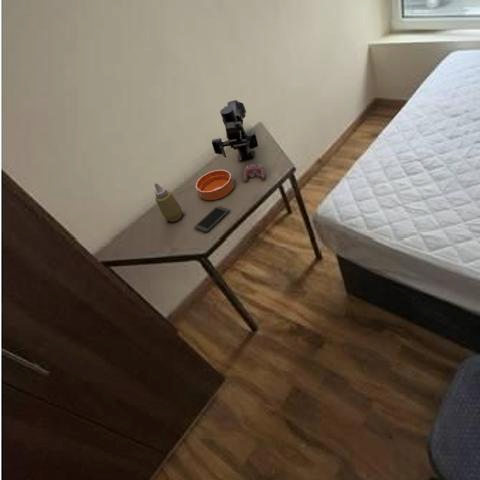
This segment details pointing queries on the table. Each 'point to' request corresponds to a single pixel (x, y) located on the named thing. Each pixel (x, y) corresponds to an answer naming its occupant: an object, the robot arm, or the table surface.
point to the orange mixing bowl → (215, 184)
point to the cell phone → (211, 219)
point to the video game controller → (254, 167)
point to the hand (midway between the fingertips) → (236, 154)
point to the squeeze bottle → (167, 204)
